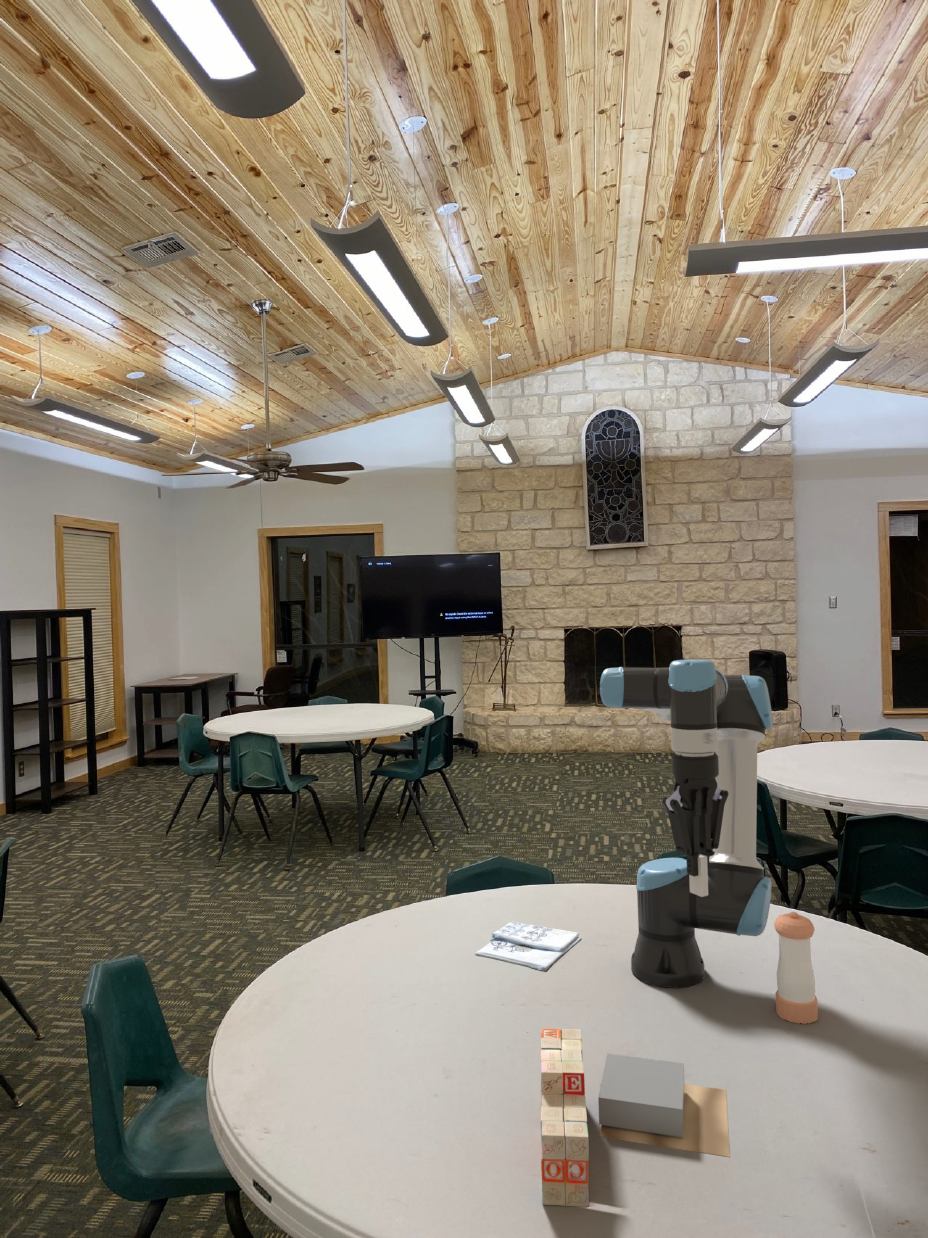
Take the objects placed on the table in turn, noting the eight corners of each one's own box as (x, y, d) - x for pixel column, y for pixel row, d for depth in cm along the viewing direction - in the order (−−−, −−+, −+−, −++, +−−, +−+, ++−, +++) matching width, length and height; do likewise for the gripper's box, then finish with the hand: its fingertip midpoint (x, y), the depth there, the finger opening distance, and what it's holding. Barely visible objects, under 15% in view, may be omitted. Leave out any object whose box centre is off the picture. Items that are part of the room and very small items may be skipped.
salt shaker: (818, 1008, 150) (815, 908, 150) (817, 1027, 143) (814, 922, 143) (777, 1002, 153) (774, 903, 153) (774, 1019, 146) (771, 917, 146)
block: (683, 1063, 124) (607, 1053, 128) (682, 1109, 113) (598, 1097, 116) (684, 1091, 124) (608, 1081, 128) (683, 1140, 113) (599, 1127, 116)
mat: (726, 1093, 124) (725, 1089, 124) (730, 1161, 109) (729, 1157, 109) (611, 1078, 130) (610, 1074, 130) (599, 1140, 114) (599, 1136, 114)
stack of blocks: (590, 1209, 101) (587, 1114, 101) (541, 1207, 102) (538, 1112, 102) (583, 1106, 123) (581, 1027, 123) (543, 1105, 123) (540, 1026, 123)
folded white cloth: (582, 941, 186) (582, 932, 186) (544, 975, 169) (544, 965, 169) (512, 926, 196) (511, 917, 196) (469, 957, 179) (469, 947, 179)
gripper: (681, 760, 125) (686, 908, 125) (740, 751, 131) (744, 892, 131) (649, 753, 131) (653, 894, 131) (706, 745, 138) (710, 880, 138)
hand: (698, 893), depth 131 cm, fingers closed
